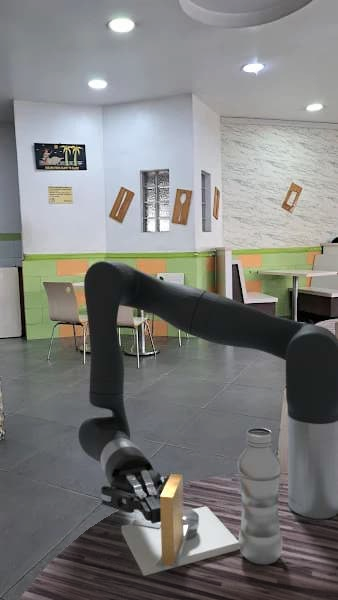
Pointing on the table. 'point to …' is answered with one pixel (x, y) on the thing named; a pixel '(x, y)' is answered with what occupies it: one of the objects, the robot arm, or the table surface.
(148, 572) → the base plate
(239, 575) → the table surface
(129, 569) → the table surface
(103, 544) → the table surface
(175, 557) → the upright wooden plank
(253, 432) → the plastic bottle
